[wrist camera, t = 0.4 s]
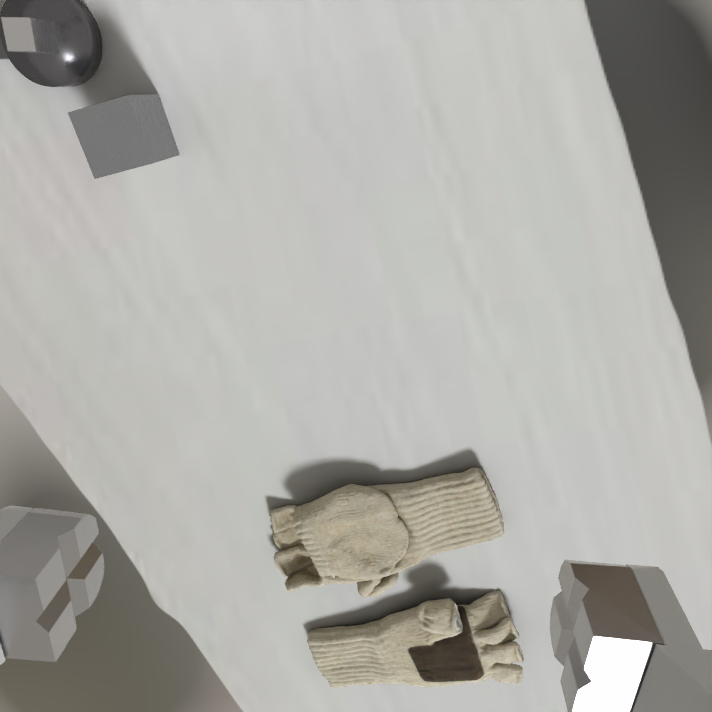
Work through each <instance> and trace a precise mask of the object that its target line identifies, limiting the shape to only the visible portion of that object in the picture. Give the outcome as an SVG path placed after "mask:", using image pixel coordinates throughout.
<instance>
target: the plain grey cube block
mask: <svg viewBox="0 0 712 712" xmlns="http://www.w3.org/2000/svg"><path fill="white" fill-rule="evenodd" d="M68 114H69V116H70V119H71V121H72V124H73V126H74V129H75V131H76V134H77V136H78V139H79V141H80V144H81V146H82V149H83V151H84V154H85V156H86V158H87V161H88V163H89V166H90V168H91V171H92V173H93V176H94V178H95V179H96V178H99V177H103V176H107V175H111V174H114V173H118V172H122V171H125V170H129V169H133V168H137V167H140V166H144V165H148V164H152V163H155V162H158V161H161V160H165V159H168V158H171V157H175V156H178V155H179V152H178V149H177V146H176V143H175V140H174V137H173V135H172V132H171V129H170V126H169V123H168V120H167V117H166V114H165V111H164V109H163V106H162V103H161V100H160V97H159V94H144V95H126V96H123V97H119V98H116V99H113V100H109V101H106V102H102V103H99V104H96V105H92V106H89V107H85V108H82V109H79V110H75V111H72V112H68Z"/></svg>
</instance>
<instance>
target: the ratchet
mask: <svg viewBox="0 0 712 712" xmlns="http://www.w3.org/2000/svg"><path fill="white" fill-rule="evenodd" d="M101 56H102V39H101V34H100V31H99V28H98V25H97V23H96V21H95V19H94V17H93V15H92V14H91V12H90V11H89V10H88V9H87V7H86V6H85V5H84V4H83V3H82V2H81V1H79V0H6V2H5V3H4V5H3V8H2V11H1V15H0V59H10V61H11V62H12V64H13V65H14V66H15V68H16V69H17V70H18V71H19V72H20V73H21V74H23V75H24V76H25V77H26V78H28V79H29V80H31V81H33V82H35V83H37V84H40V85H44V86H50V87H67V86H76V85H80V84H82V83H84V82H86V81H87V80H89V79H90V78H91V77H92V76H93V75H94V73H95V72H96V70H97V68H98V66H99V64H100V60H101Z"/></svg>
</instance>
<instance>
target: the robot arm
mask: <svg viewBox="0 0 712 712" xmlns="http://www.w3.org/2000/svg"><path fill="white" fill-rule="evenodd" d="M98 533H99V531H98V526H97V522H96V518H95V517H93V516H91V515H89V514H81V513H72V512H65V511H57V510H48V509H40V508H37V509H34V508H27V507H19V506H8V507H5V508H3V509H1V510H0V665H1V664H2V663H3V662H4V661H5V658H12V659H25V660H36V661H49V662H56V661H57V659H58V658H59V656H60V654H61V653H62V651H63V650H64V648H65V646H66V645H67V643H68V641H69V640H70V638H71V637H72V635H73V634H74V632H75V631H76V622H75V616H77V615H78V614H80V613H82V612H83V611H85V610H87V609H88V608H90V606H91V604H92V603H93V601H94V599H95V598H96V596H97V595H98V592H99V589H100V586H101V583H102V579H103V574H104V560H103V553H102V552H101V551H100V550H99V549H98V547H97V546H96V545H95V544H94V543H93V541H94V539H95V538H96V536H97V535H98ZM558 578H559V582H560V585H561V589H562V591H561V592H560V593H559V594H558V595H556V596H555V597H554V598H553V603H552V608H551V617H550V633H551V641H552V647H553V651H554V656H555V657H556V659H557V660H558V661H559V662H560V663H561V664H562V665H563V666H564V670H563V674H562V678H561V685H562V689H563V693H564V697H565V701H566V705H567V710H568V712H712V650H704V649H702V647H701V645H700V643H699V641H698V639H697V637H696V635H695V633H694V631H693V629H692V627H691V625H690V623H689V621H688V619H687V617H686V615H685V613H684V611H683V609H682V607H681V605H680V604H679V602H678V600H677V598H676V596H675V594H674V592H673V590H672V588H671V586H670V584H669V582H668V580H667V578H666V576H665V574H664V572H663V571H662V570H661V569H659V568H658V567H651V566H638V565H626V566H625V565H619V564H608V563H597V562H585V561H574V560H565V561H564V562H563V564H562V566H561V569H560V573H559V577H558Z"/></svg>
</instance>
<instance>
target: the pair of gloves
mask: <svg viewBox="0 0 712 712" xmlns="http://www.w3.org/2000/svg"><path fill="white" fill-rule="evenodd" d="M269 514H270V516H271V523H272V528H273V530H274V532H273V534H272V537H273V539H274V541H275V544H276V545H277V546H278V548H279V549H280V552H276V553H275V555H274V561H275V564H276V567H277V568H278V569H279V570H280V571H281V572H282V573H283V575H284V576H288V578H287V579H286V582H285V586H286V588H287V590H288V591H290V592H294V591H295V590H299V589H300V588H303V587H307V586H308V587H319V586H323V585H326V584H327V583H332V584H345V583H353V582H357V587H358V592H359V593H360V595H361V596H363V597H364V598H366V597H368V596H377V595H380V594H381V593H383V592H384V591H386V590H387V589H388V588H390V587H391V586H393V585H394V584H395V583H396V582H397V580H398V572H400V571H402V570H405V569H407V568H409V567H411V566H414V565H416V564H417V563H418V562H420V561H423V560H424V559H426V558H428V557H429V556H431V555H433V554H436V553H440V552H442V551H449V550H453V549H458V548H461V547H465V546H469V545H474V544H477V543H482V542H486V541H490V540H493V539H496V538H498V537H501V536H502V535H503V534H504V528H503V527H504V523H503V519H502V515H501V512H500V509H499V504H498V502H497V498H496V496H495V494H494V492H493V491H492V489H491V486H490V483H489V481H488V479H487V478H486V475H485V473H484V472H483V471H482V470H481V469H479V468H476V467H474V468H470V469H468V470H467V471H464V472H462V473H453V474H452V473H451V474H446V475H441V476H437V477H431V478H427V479H423V480H420V481H415V482H410V483H400V484H383V485H382V484H381V485H372V486H362V485H356V484H350V485H346V486H343V487H341V488H338V489H336V490H334V491H332V492H330V493H328V494H327V495H325V496H323V497H320V498H318V499H316V500H315V501H311V502H309V503H306V504H302V505H300V506H296V505H288V506H284V507H280V508H276V509H273V510H270V511H269ZM509 617H510V615H509V610H508V608H507V605H506V602H505V600H504V598H503V595H502V594H501V591H492V592H489V593H487V594H485V595H484V596H482V597H480V598H478V599H477V600H475V601H474V602H472V603H471V604H470V605H456V603H455V602H453V600H451V599H450V598H445V599H440V600H433V601H426V602H423V603H421V604H420V605H419V606H416V607H414V608H411V609H407V610H404V611H401V612H397V613H393V614H390V615H388V616H386V617H384V618H383V619H380V620H377V621H372V622H369V623H366V624H363V625H355V626H347V627H346V626H337V627H329V628H316V629H313V630H310V632H309V634H308V640H307V641H308V644H309V647H310V650H311V652H312V655H313V659H314V661H315V663H316V664H317V666H318V669H320V672H321V673H322V674H323V676H324V677H325V678H326V679H327V680H328V682H329V684H330V686H331V687H333V688H338V687H348V686H353V685H364V684H376V683H377V684H378V683H388V684H393V685H396V684H399V683H402V684H409V685H416V686H422V687H437V686H449V685H457V684H463V683H473V682H480V681H484V680H485V679H487V678H491V679H494V680H496V681H499V682H503V683H517V684H519V683H521V682H522V679H523V673H522V667H521V666H519V665H516V664H515V665H513V664H512V663H514V662H520V663H522V662H523V660H524V658H523V654H522V651H521V648H520V646H519V645H518V644H517V642H514V641H513V640H514V639H516V638H519V634H518V632H517V630H516V627H515V626H514V624H513V622H512V620H511V618H509ZM497 624H498V625H497ZM495 625H496V626H495ZM493 626H495V627H493ZM491 627H493V628H491Z"/></svg>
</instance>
